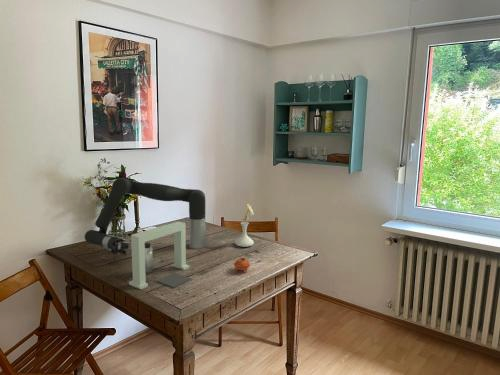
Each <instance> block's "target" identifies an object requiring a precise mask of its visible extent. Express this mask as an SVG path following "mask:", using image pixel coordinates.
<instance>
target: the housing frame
mask: <svg viewBox="0 0 500 375" xmlns="http://www.w3.org/2000/svg"><path fill="white" fill-rule="evenodd" d="M171 234H173V247H174V248H173V253H174V254H173V263H172V265H171V266H172V267H173V268H177V269H179V270H183V271H185V270H187V269H189V268H190V265H189V264H187V257H186V256H187V250H186V247H187V246H186V245H187V244H186V243H187V242H186V241H187V240H186V236H187V234H186V223H185V222H181V221H175V222H172V223H168V224H165V225H161V226H158V227H154V228H151V229H148V230H144V231H140V232H137V233H133V234H131V235H130V237H131V238H130V240H131V246H132V249H131V266H132V268H131V269H132V280H130V281H128V285H130V286H131V287H134V288H136V289H139V290H143V289H145V288H147V287H149V283H147V282H146V276H147V275H146V273H145V243H148V242H150V241H152V240H156V239H159V238H163V237H165V236H168V235H171Z"/></svg>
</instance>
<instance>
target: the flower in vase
mask: <svg viewBox="0 0 500 375" xmlns="http://www.w3.org/2000/svg"><path fill="white" fill-rule="evenodd" d="M246 207H247V212H246V214H245V216H244V218H243V219H242V221H241V222H240V225H241V228H242V234H241V236H239V237H237V238H236V239H235V240H234V244H235V245H236V246H237V247H241V248H242V247H243V248H245V247H251V246H253V245H254V242H255V241H254V240H253V239H252V238H251V237H249V236H248V234H247V230H248V229H247V228H248V225H249V222H248V221H247V220H249V215H247V214H248V213H249V214H250V215H251V216H254V214H255V213H254V209H252V206H251V205H250V204H249V203H246Z"/></svg>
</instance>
